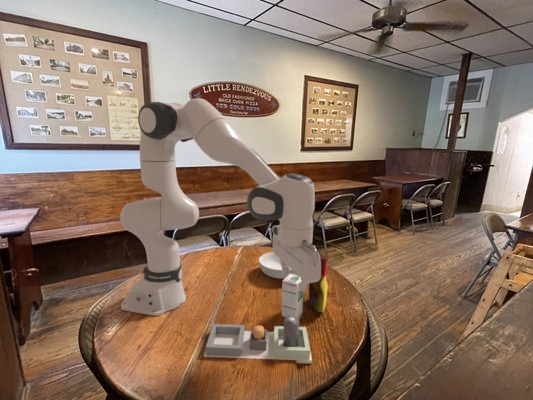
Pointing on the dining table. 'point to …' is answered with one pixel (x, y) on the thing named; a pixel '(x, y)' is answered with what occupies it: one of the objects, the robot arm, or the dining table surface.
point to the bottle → (319, 288)
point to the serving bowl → (273, 266)
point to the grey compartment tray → (255, 344)
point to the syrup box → (292, 297)
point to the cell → (291, 332)
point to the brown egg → (258, 332)
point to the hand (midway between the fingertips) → (293, 281)
